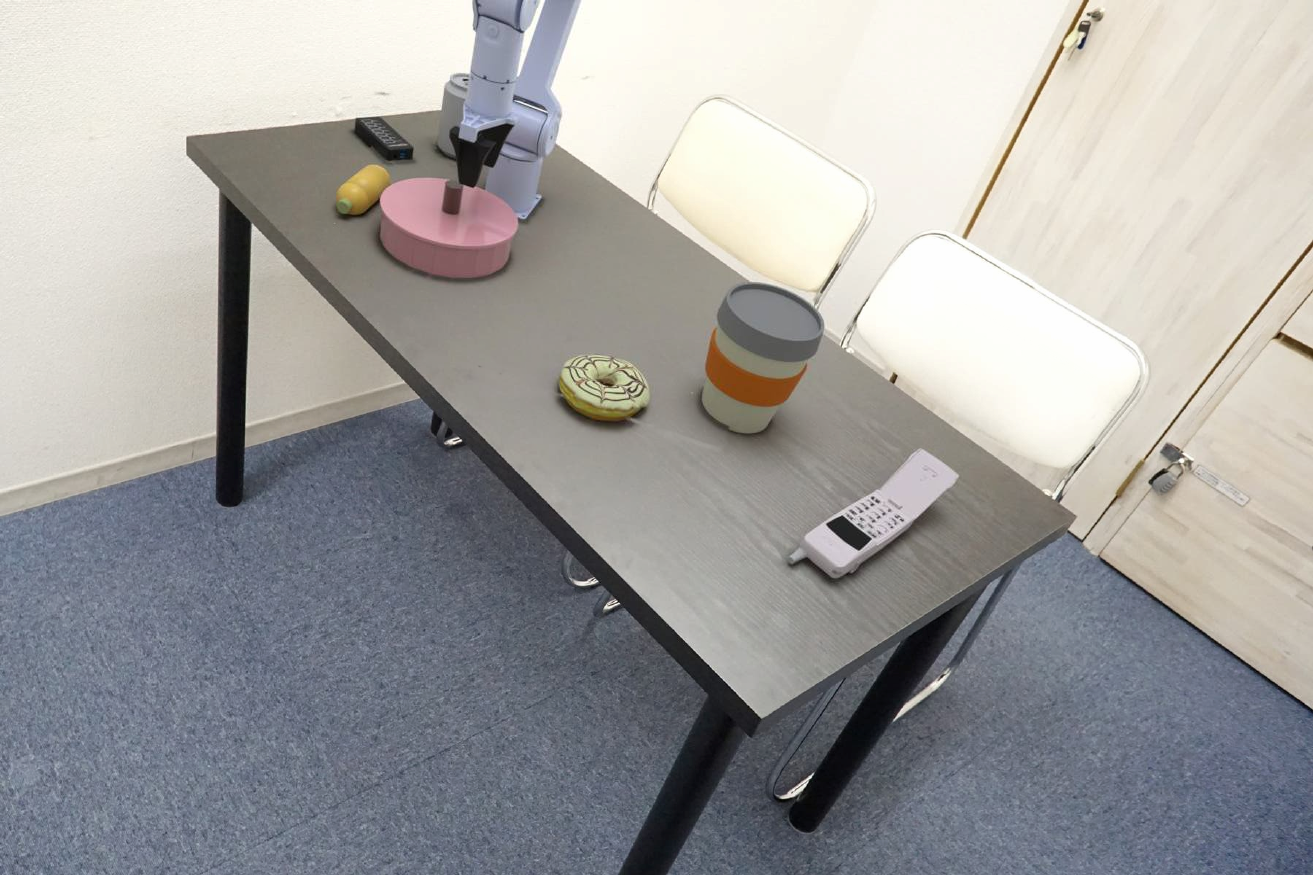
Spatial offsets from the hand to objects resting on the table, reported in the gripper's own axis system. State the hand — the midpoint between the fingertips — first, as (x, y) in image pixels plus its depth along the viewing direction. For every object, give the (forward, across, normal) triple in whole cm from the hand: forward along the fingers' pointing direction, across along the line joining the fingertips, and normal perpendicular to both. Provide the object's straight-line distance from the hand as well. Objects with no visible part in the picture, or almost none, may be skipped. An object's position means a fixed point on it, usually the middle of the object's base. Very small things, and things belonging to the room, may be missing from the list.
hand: (477, 174), depth 127 cm
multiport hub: (+10, +20, +21) cm, 31 cm away
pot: (+10, -3, +2) cm, 11 cm away
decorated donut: (+11, -25, -26) cm, 37 cm away
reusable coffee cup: (+11, -18, -42) cm, 47 cm away
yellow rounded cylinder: (+10, +1, +16) cm, 19 cm away
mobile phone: (+11, -33, -60) cm, 69 cm away
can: (+10, +27, +11) cm, 31 cm away
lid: (+5, -3, +2) cm, 6 cm away
